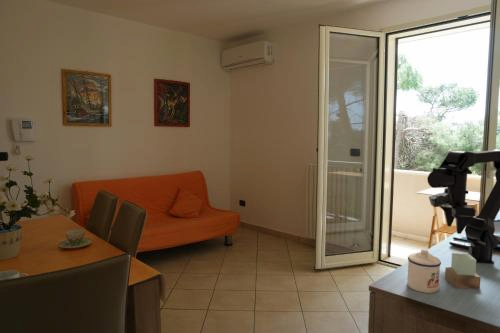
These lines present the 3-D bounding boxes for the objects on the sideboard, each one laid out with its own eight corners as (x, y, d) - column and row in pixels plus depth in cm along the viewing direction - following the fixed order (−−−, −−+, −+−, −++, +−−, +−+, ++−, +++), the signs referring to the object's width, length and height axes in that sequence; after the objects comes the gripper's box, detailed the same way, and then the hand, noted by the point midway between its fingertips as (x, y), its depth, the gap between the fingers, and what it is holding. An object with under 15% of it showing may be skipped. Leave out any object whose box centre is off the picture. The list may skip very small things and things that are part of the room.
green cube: (467, 269, 113) (469, 254, 112) (475, 275, 108) (476, 260, 107) (451, 268, 114) (452, 253, 113) (457, 274, 109) (458, 258, 108)
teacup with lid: (432, 296, 102) (435, 258, 101) (401, 286, 109) (403, 250, 107) (446, 284, 110) (449, 248, 109) (416, 275, 117) (418, 241, 116)
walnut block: (466, 279, 114) (467, 267, 114) (479, 289, 108) (480, 276, 107) (444, 279, 115) (445, 267, 114) (456, 288, 108) (457, 276, 107)
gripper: (424, 181, 135) (421, 221, 136) (441, 190, 116) (438, 236, 118) (456, 182, 133) (453, 223, 134) (478, 191, 114) (474, 238, 116)
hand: (453, 229), depth 126 cm, fingers open, 9 cm apart
